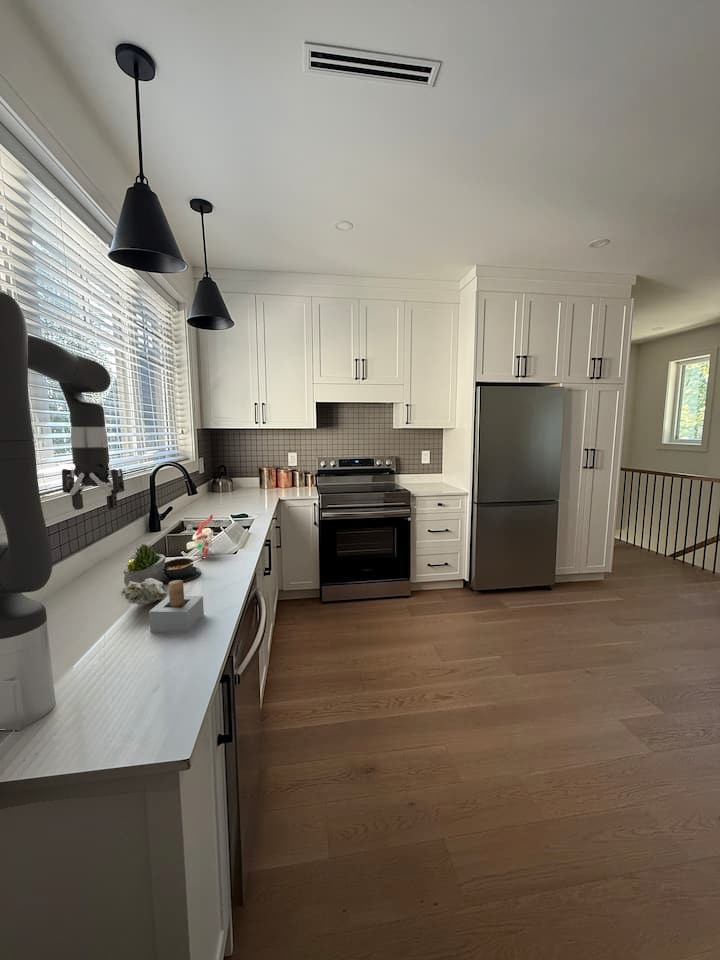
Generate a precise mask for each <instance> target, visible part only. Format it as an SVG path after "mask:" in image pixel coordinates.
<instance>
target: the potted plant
mask: <svg viewBox="0 0 720 960" xmlns="http://www.w3.org/2000/svg"><path fill="white" fill-rule="evenodd" d="M156 550H157V549H155V547H152V545H151V544H148V543H147V544H141V545H140V546H139V547H136V550H135V551H134V554H135V555H134V558H133V559H130V560H128V564H126V566H127V568H126V569H125V570H124V571H123V572H122V573H123V575H124V576H123V583H124V585H125V586H126V587H127V586H128V584H129V581H132V582H136V583H142V582H144V581H145V579H149V578H153V579H155V580H157V581H160V579H161V575H162V572H163V569H164V566H165V563H166V556H165V555H164V554H162V553H158V552H157V551H156Z"/></svg>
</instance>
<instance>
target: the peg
mask: <svg viewBox="0 0 720 960" xmlns="http://www.w3.org/2000/svg"><path fill="white" fill-rule="evenodd" d="M184 591H185V590H184V581H182V580H174V581H171V582H169V583H168V596H169V598H170V608H182V607H183V606H184V596H185V592H184Z"/></svg>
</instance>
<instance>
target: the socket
mask: <svg viewBox="0 0 720 960" xmlns="http://www.w3.org/2000/svg"><path fill="white" fill-rule="evenodd" d="M204 608H205V607H204V596H203V595H184V606H183V607H182V608H170V598H169V595H167V596H166V597H164V599H161V601H160V602H159V603H157V604H156V605H154V607H153V608H151V609H150V610H149V611H148V615H149V616H148V617H149V618H148V619H149V630H150V632H149V633H172V634H173V633H177V634H179V633H182V634H183V633H184V634H185V633H187V634H188V633H189V632H190V631H191V630H192V629H193V628H194V627H195V625H196V624H197V623H198V622H199V621H200V620H201V619H202V618H203V617H204V616H205V613H204V612H205V611H204V610H205V609H204Z"/></svg>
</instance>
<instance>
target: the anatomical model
mask: <svg viewBox="0 0 720 960" xmlns="http://www.w3.org/2000/svg"><path fill="white" fill-rule="evenodd" d="M213 516H214V515H213V514H210V515H209V518H207V519H204V520H203V521H201V522H200V521H199V522H198V523H197V530H195V531H196V532H195V533H194V534H193V535H192V538H191V540H192V541H188V542H187V543H186V545H185V546H186V550H188V551H189V550H192V549H196V550H195V552H198V551H201V552H202V554H203V555H202V557H206V558H207V556H208V554H209V548H212V547H213V542H212V539H213V538H212V537H213V535H214V530H213V529H211V528H209V527H204V526H207V525H208V524H209V523H210V522H211V521H212V520H213V518H214V517H213Z"/></svg>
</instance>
